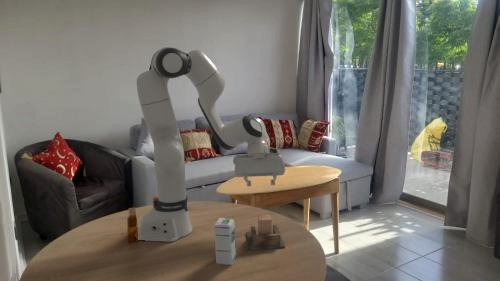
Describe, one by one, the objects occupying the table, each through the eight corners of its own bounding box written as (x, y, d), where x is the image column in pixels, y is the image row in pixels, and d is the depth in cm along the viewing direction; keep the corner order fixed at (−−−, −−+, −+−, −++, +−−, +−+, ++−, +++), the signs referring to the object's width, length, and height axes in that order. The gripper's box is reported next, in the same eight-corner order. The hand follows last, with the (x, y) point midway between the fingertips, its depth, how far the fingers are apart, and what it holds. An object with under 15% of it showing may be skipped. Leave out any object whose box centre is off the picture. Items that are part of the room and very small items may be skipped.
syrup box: (232, 265, 130) (231, 225, 127) (215, 263, 131) (213, 224, 128) (236, 256, 135) (235, 218, 132) (220, 255, 137) (218, 217, 133)
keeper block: (259, 242, 144) (259, 220, 142) (258, 237, 148) (257, 215, 146) (271, 242, 144) (271, 219, 142) (269, 236, 148) (269, 214, 146)
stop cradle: (249, 250, 140) (248, 238, 139) (246, 233, 152) (246, 222, 151) (284, 247, 141) (284, 236, 140) (279, 231, 153) (279, 220, 152)
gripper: (233, 151, 155) (234, 182, 148) (283, 149, 157) (287, 180, 150) (232, 159, 161) (234, 189, 153) (281, 157, 162) (285, 187, 155)
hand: (261, 185), depth 152 cm, fingers open, 8 cm apart
